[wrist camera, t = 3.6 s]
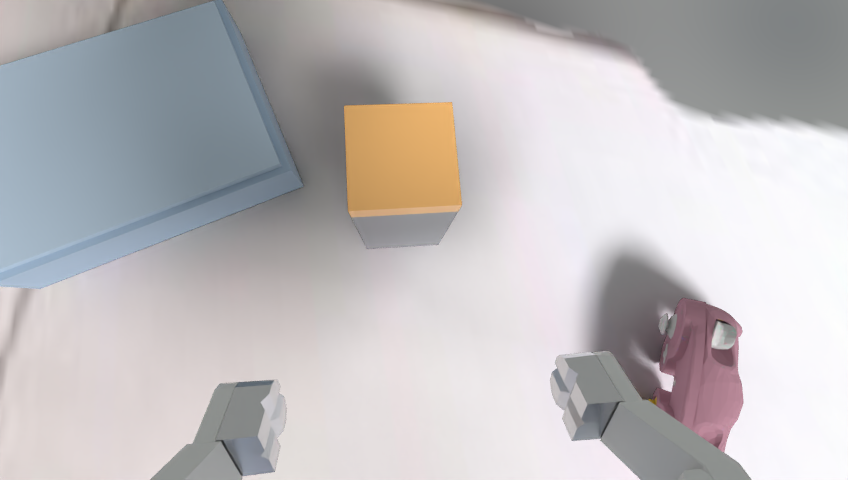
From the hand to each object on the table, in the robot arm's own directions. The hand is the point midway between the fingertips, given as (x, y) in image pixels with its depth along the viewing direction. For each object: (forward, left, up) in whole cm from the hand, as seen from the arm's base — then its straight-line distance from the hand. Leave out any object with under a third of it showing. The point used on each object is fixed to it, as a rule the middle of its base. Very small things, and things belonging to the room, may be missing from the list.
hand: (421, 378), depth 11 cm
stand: (-10, +18, -12) cm, 24 cm away
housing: (+3, +8, -12) cm, 14 cm away
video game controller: (+13, -9, -12) cm, 20 cm away
